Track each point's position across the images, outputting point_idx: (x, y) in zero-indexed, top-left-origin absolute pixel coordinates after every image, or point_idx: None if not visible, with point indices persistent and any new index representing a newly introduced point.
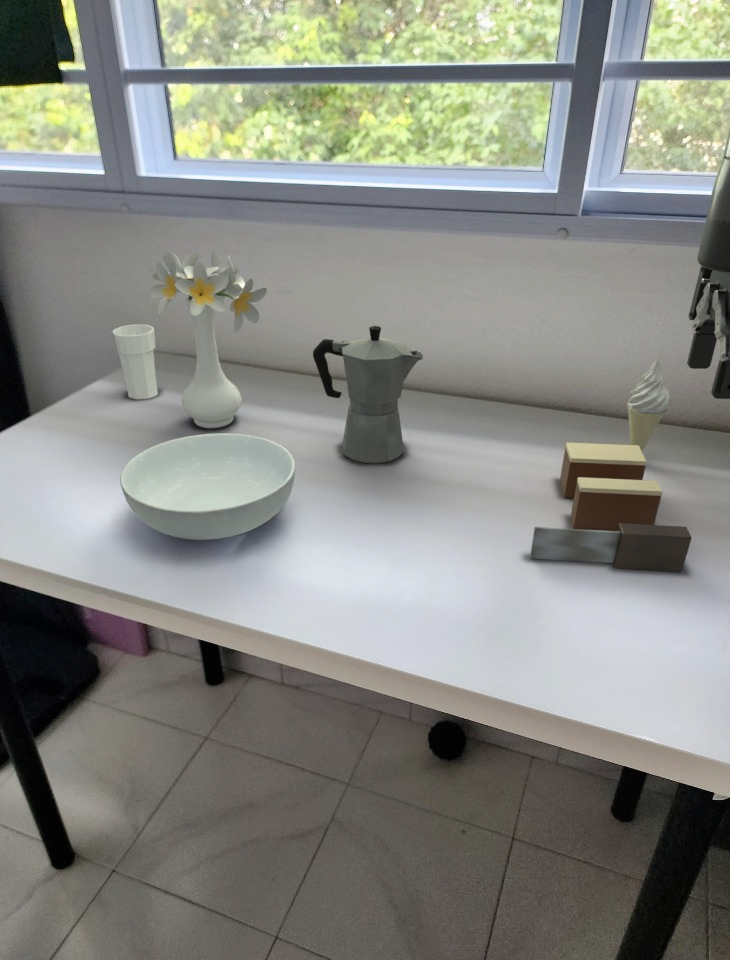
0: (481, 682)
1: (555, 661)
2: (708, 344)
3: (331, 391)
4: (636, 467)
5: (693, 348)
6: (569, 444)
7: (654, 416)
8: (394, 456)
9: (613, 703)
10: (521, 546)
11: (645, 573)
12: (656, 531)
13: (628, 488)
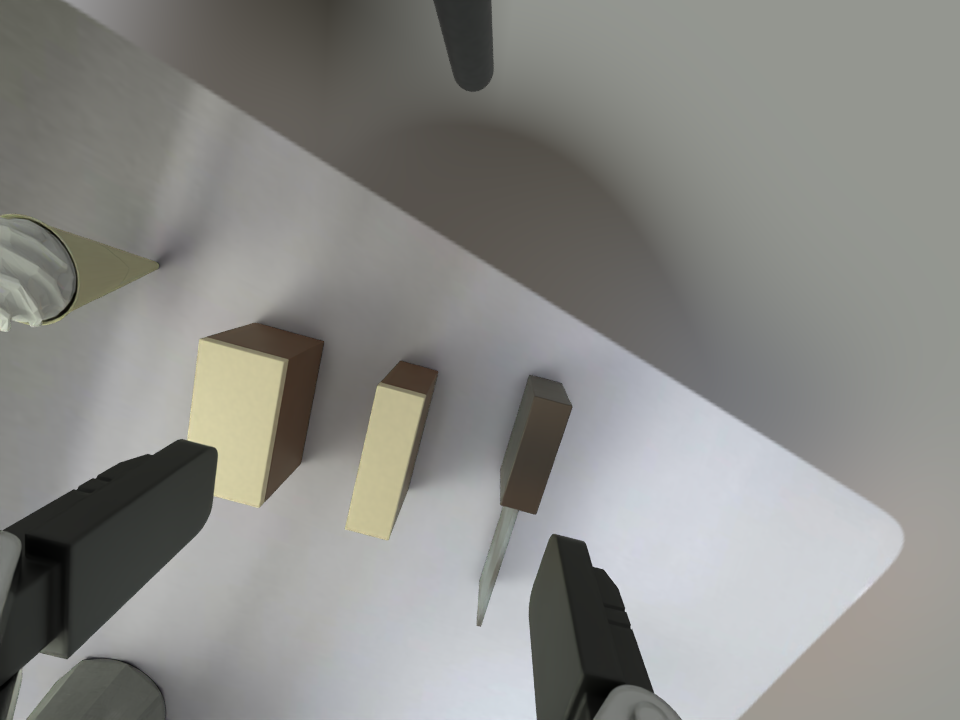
0: (721, 715)
1: (710, 632)
2: (124, 540)
3: None
4: (288, 375)
5: (140, 587)
6: None
7: (81, 271)
8: (146, 684)
9: (800, 601)
10: (447, 582)
11: None
12: (541, 458)
13: (404, 458)
